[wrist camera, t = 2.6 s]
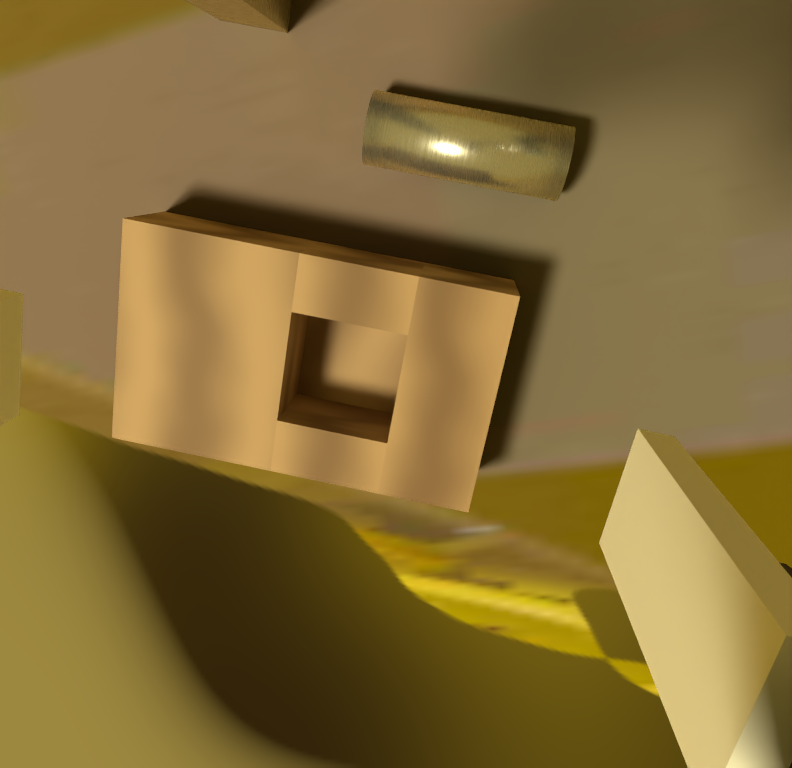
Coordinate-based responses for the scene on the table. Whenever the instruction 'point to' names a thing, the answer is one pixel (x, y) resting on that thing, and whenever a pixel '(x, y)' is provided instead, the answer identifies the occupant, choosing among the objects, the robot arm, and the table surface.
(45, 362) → the table surface
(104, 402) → the table surface
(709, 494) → the robot arm
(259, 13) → the square bit
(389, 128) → the round bit
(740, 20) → the table surface
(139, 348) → the holder block
